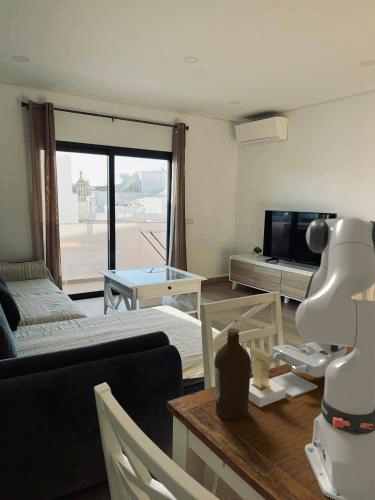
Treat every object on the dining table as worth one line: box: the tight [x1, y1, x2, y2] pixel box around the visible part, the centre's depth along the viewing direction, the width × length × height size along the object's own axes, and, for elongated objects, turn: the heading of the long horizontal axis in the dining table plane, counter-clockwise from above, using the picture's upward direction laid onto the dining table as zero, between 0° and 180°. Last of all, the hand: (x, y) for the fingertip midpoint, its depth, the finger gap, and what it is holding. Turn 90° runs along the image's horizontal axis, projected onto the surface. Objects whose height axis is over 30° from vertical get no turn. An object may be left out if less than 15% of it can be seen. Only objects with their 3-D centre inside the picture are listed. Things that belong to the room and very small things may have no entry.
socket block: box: [248, 377, 287, 408], centre depth 116 cm, size 11×11×3 cm
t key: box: [250, 346, 274, 391], centre depth 115 cm, size 8×3×14 cm, turn 32°
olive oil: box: [213, 327, 252, 421], centre depth 105 cm, size 11×11×25 cm
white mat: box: [269, 371, 319, 398], centre depth 123 cm, size 12×12×1 cm
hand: (282, 364), depth 120 cm, fingers open, 8 cm apart
